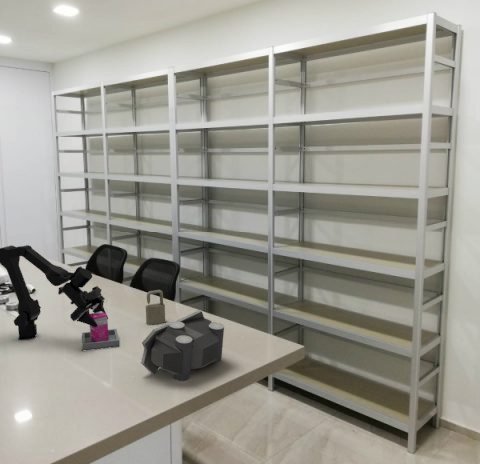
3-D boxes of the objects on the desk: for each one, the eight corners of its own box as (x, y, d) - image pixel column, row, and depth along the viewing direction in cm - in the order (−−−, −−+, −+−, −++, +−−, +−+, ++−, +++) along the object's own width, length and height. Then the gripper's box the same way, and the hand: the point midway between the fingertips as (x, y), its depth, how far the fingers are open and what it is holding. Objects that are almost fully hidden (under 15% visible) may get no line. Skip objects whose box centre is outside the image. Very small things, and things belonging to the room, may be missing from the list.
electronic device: (132, 371, 177) (191, 343, 200) (174, 396, 165) (232, 364, 188) (133, 324, 172) (194, 301, 195) (177, 346, 160) (236, 319, 183)
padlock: (145, 322, 229) (144, 290, 227) (163, 320, 233) (162, 288, 230) (148, 325, 226) (146, 292, 223) (165, 322, 229) (164, 290, 227)
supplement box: (89, 340, 206) (88, 313, 204) (103, 337, 210) (102, 310, 208) (95, 344, 201) (93, 317, 200) (109, 341, 205) (107, 314, 203)
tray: (82, 350, 197) (82, 344, 197) (82, 338, 210) (81, 332, 210) (119, 346, 201) (119, 340, 201) (116, 334, 214) (116, 328, 214)
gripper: (75, 287, 194) (103, 317, 193) (99, 276, 212) (124, 303, 211) (58, 306, 197) (85, 335, 196) (83, 293, 215) (108, 320, 214)
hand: (102, 322), depth 204 cm, fingers open, 8 cm apart
